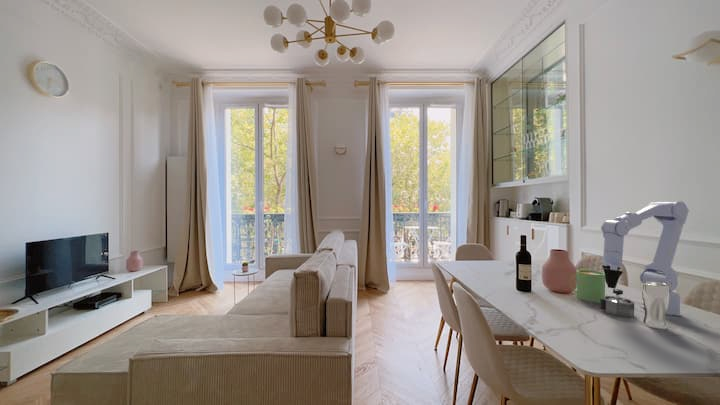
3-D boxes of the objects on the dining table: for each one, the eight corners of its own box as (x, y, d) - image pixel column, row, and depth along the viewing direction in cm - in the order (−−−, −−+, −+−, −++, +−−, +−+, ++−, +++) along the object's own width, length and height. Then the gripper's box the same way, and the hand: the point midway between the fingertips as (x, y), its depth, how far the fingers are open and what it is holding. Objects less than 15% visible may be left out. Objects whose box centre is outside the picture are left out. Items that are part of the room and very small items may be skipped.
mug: (603, 297, 139) (603, 271, 139) (606, 304, 130) (606, 276, 130) (569, 292, 146) (569, 267, 146) (570, 298, 137) (570, 272, 137)
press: (626, 310, 123) (626, 297, 123) (637, 318, 115) (638, 305, 114) (596, 307, 126) (596, 294, 126) (605, 315, 118) (605, 301, 118)
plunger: (624, 300, 122) (624, 288, 122) (632, 306, 116) (633, 293, 116) (603, 298, 125) (603, 286, 124) (611, 304, 118) (611, 291, 118)
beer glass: (674, 330, 104) (675, 287, 104) (650, 328, 106) (651, 285, 106) (658, 322, 111) (659, 281, 111) (636, 320, 113) (637, 280, 112)
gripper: (598, 247, 127) (596, 280, 127) (601, 251, 115) (598, 287, 115) (621, 250, 123) (618, 284, 123) (626, 254, 111) (623, 291, 111)
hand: (610, 285), depth 119 cm, fingers open, 7 cm apart
